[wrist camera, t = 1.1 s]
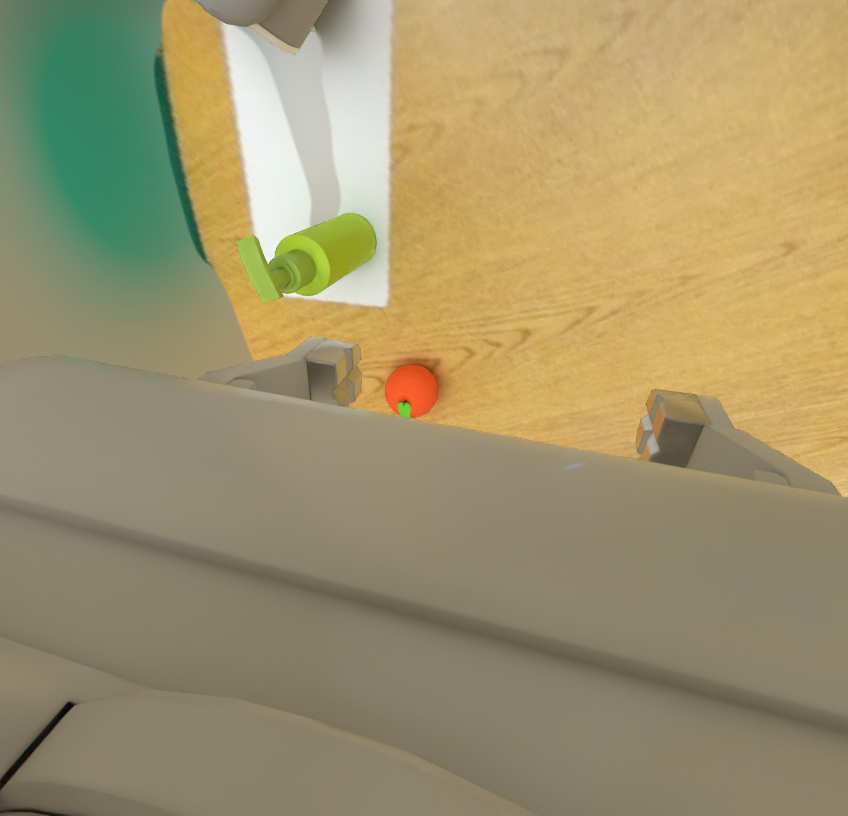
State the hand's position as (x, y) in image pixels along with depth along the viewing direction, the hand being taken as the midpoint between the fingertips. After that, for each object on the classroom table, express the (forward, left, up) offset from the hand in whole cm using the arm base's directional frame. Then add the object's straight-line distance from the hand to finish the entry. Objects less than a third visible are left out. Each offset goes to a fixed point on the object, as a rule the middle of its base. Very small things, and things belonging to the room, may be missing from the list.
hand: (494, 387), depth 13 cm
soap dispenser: (+17, -15, -43) cm, 49 cm away
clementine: (+27, +3, -43) cm, 51 cm away
